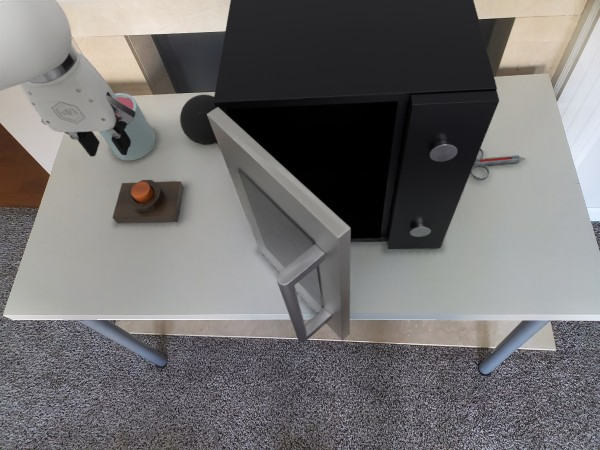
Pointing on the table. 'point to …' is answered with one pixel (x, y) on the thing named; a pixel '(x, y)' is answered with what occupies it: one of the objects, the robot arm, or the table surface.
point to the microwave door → (290, 231)
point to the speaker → (198, 119)
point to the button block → (150, 203)
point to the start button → (142, 192)
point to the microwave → (364, 105)
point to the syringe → (494, 162)
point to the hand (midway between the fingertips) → (110, 148)
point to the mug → (133, 132)
